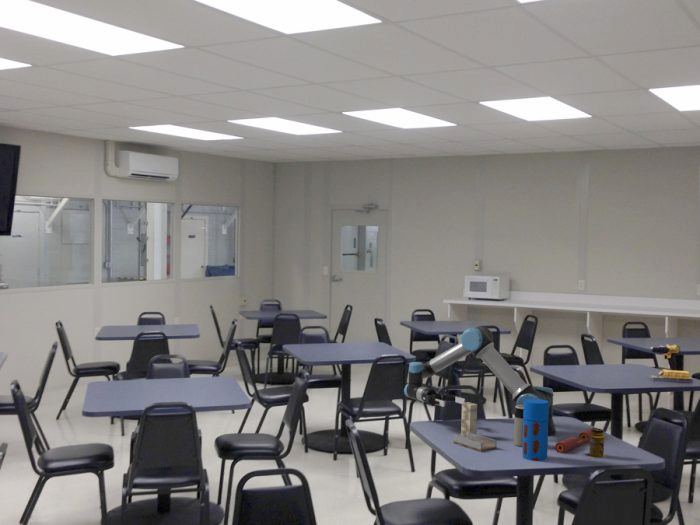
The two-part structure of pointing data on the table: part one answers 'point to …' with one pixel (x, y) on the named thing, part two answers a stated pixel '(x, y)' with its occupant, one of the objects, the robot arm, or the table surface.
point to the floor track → (476, 442)
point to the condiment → (596, 444)
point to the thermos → (535, 429)
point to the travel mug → (518, 425)
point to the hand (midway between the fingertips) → (454, 402)
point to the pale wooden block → (469, 419)
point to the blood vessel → (573, 442)
